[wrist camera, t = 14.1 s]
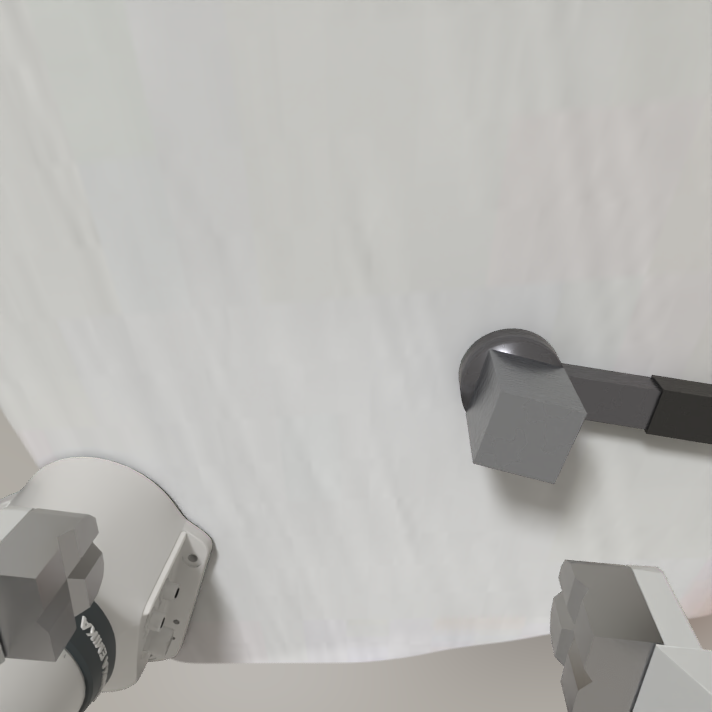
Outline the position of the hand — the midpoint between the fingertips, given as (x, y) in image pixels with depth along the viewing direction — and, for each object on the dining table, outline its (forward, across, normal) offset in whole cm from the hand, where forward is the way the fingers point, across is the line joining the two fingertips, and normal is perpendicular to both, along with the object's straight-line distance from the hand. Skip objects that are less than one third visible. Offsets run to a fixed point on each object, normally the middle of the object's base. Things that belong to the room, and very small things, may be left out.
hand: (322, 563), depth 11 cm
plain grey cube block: (+29, -9, +11) cm, 32 cm away
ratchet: (+31, -15, +11) cm, 36 cm away
